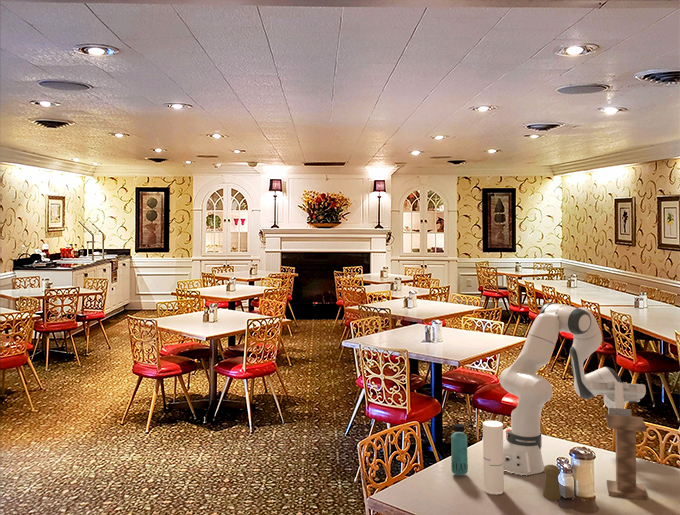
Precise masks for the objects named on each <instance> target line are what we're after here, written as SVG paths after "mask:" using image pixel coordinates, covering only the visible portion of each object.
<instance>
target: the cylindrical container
mask: <svg viewBox="0 0 680 515" xmlns="http://www.w3.org/2000/svg"><path fill="white" fill-rule="evenodd" d="M503 441H504V424H503V422H500V421H497V420H485V421H483V422H482V450H483V451H482V453H483V454H482V459H483V460H482V462H483V464H482V466H483V489H484V488H485V489H486V490H488V491H492V492H501V491H503V490H504V491H505V477H504V474H505V472H504V464H503Z"/></svg>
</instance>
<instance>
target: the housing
mask: <svg viewBox="0 0 680 515" xmlns="http://www.w3.org/2000/svg"><path fill="white" fill-rule="evenodd" d="M614 392H615V408H608V407H607V409H608V414H609V415H621V416H632V409H631V408H625V405H624V398H623V382H622V383H615V387H614Z"/></svg>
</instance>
